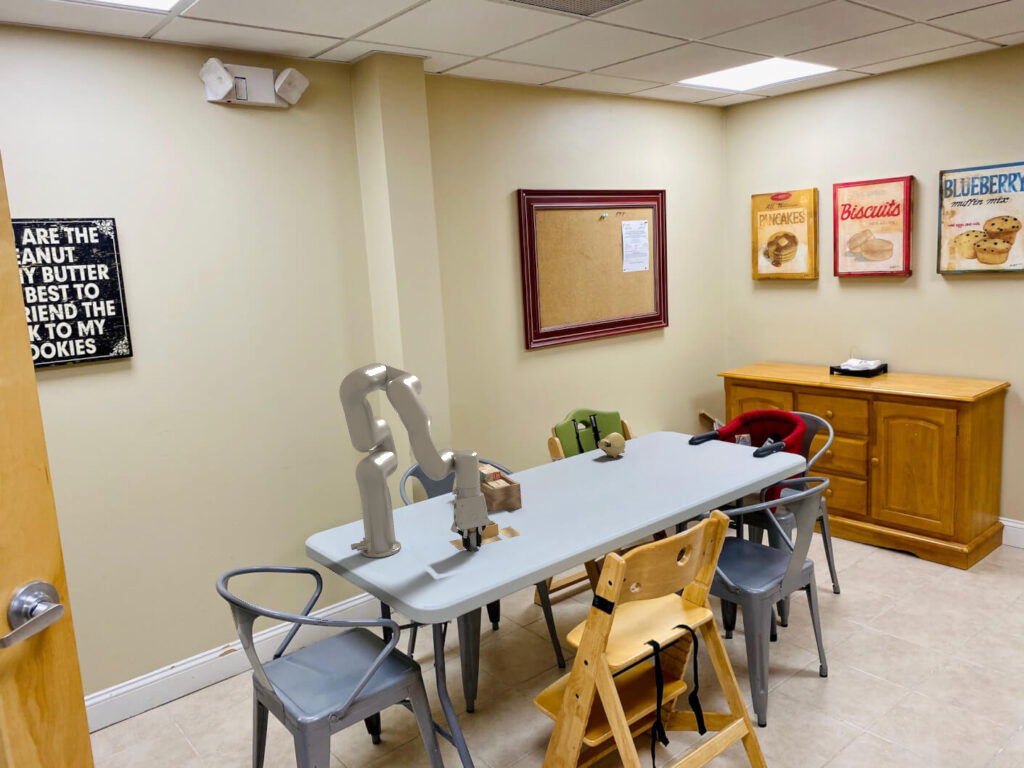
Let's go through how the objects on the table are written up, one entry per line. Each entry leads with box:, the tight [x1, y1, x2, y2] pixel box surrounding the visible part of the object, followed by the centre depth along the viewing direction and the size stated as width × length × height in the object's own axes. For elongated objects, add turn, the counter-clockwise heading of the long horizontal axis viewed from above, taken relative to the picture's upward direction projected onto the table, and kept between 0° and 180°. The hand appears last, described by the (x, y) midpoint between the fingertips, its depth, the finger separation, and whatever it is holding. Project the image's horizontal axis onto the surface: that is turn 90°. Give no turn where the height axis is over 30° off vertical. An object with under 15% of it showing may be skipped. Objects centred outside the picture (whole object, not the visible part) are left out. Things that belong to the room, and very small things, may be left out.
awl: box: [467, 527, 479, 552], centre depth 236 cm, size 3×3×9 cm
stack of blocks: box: [479, 463, 510, 489], centre depth 283 cm, size 21×6×12 cm, turn 22°
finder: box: [482, 520, 500, 537], centre depth 249 cm, size 5×4×4 cm
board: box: [449, 526, 522, 551], centre depth 246 cm, size 22×9×1 cm, turn 116°
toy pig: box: [597, 431, 626, 459], centre depth 334 cm, size 10×12×11 cm
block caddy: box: [480, 473, 523, 513], centre depth 285 cm, size 11×26×9 cm, turn 26°
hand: (472, 546), depth 237 cm, fingers closed on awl, 3 cm apart
